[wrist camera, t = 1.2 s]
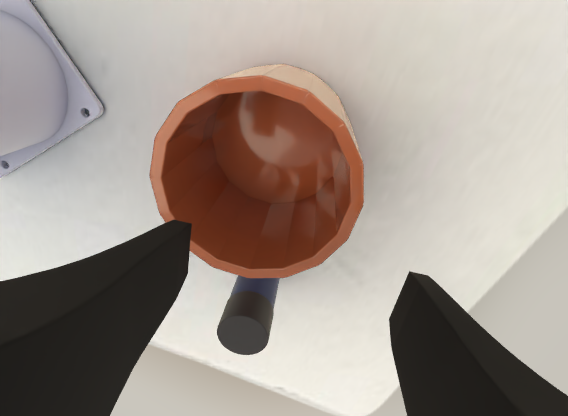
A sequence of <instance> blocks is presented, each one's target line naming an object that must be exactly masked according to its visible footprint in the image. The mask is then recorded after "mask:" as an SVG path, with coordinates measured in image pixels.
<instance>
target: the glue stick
mask: <svg viewBox="0 0 568 416" xmlns="http://www.w3.org/2000/svg"><path fill="white" fill-rule="evenodd" d="M278 283H279V278H246V277H242V276H239V275H238V277H237V280H236V283H235V285H234V288H233V291H232V293H231V296H230V298H229V300H228V301H227V304H226V307H225V309H224V312H223V315H222V317H221V320H220V323H219V325H218V328H217V335H218V338H219V341H220V342H221V344H222V345H223V346H224V347H225V348H227V349H228V350H230V351H232V352H234V353H237V354H242V355H251V354H256V353H258V352H260V351H262V350H263V349H264V348H265V347H266V345H267V343H268V340H269V335H270V330H271V324H272V319H273V309H274V304H275V299H276V294H277V288H278Z"/></svg>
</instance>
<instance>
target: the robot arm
mask: <svg viewBox="0 0 568 416" xmlns="http://www.w3.org/2000/svg"><path fill="white" fill-rule="evenodd" d="M85 109H87V110H88V111H89V113H90V115H89V116H88V115H87V114H86V113H85ZM102 114H103V106H102V104H101V102H100V101H99V99H98V98H97V97H96V95H95V94H94V92H93V91H92V89H91V88H90V87H89V85H88V84H87V82H86V81H85V79H84V78H83V76H82V75H81V74H80V72H79V71H78V69H77V68H76V66H75V65H74V64H73V62H72V61H71V59H70V58H69V56H68V55H67V53H66V52H65V51H64V49H63V48H62V46H61V45H60V43H59V42H58V41H57V39H56V38H55V36H54V35H53V33H52V32H51V30H50V29H49V28H48V26H47V25H46V23H45V22H44V20H43V19H42V17H41V16H40V15H39V13H38V12H37V10H36V9H35V7H34V6H33V5H32V3H31V2H30V0H0V178H2V177H4V176H6V175H7V174H9V173H11V172H12V171H14V170H15V169H17V168H18V167H20V166H22V165H23V164H25V163H26V162H28V161H30V160H31V159H33V158H34V157H36V156H38V155H39V154H41V153H42V152H44V151H45V150H47V149H49V148H50V147H52V146H53V145H55V144H57V143H58V142H60V141H61V140H63V139H64V138H66V137H68V136H69V135H71V134H72V133H74V132H76V131H77V130H79V129H80V128H82V127H83V126H85V125H87V124H88V123H90V122H91V121H93V120H95V119H96V118H98V117H99V116H101V115H102ZM6 162H7V163H8V164H9V166H8V165H7V163H6ZM191 228H192V223H187V222H183V221H178V220H171V221H169V222H167V223H164V224H162V225H160V226H158V227H156V228H154V229H152V230H150V231H148V232H146V233H144V234H142V235H140V236H137V237H135V238H133V239H131V240H129V241H127V242H125V243H122V244H120V245H117V246H115V247H113V248H110V249H108V250H105V251H103V252H101V253H98V254H96V255H93V256H90V257H88V258H85V259H82V260H79V261H76V262H73V263H70V264H67V265H64V266H61V267H57V268H54V269H50V270H46V271H42V272H38V273H34V274H30V275H26V276H22V277H18V278H14V279H10V280H5V281H0V416H110V414H111V412H112V410H113V408H114V406H115V404H116V402H117V400H118V398H119V395H120V394H121V392H122V390H123V388H124V386H125V384H126V382H127V379H128V378H129V376H130V373H131V372H132V369H133V368H134V366H135V364H136V363H137V361H138V359H139V357H140V356H141V354H142V353H143V351H144V350H145V348H146V346H147V345H148V343H149V342H150V340H151V338H152V337H153V335H154V334H155V332H156V331H157V329H158V327H159V326H160V324H161V323H162V321H163V320H164V318H165V316H166V315H167V313H168V312H169V310H170V308H171V307H172V305H173V303H174V302H175V300H176V298H177V296H178V294H179V292H180V290H181V288H182V285H183V283H184V281H185V279H186V276H187V274H188V262H189V251H190V239H191ZM389 323H390V337H391V346H392V352H393V356H394V361H395V365H396V370H397V374H398V378H399V382H400V387H401V391H402V395H403V399H404V404H405V408H406V412H407V416H568V396H567V395H566V394H564V393H563V392H561V391H560V390H558V389H557V388H556V387H554V386H553V385H551V384H550V383H549V382H547V381H546V380H545V379H543V378H542V377H541V376H539V375H538V374H537V373H536V372H534V371H533V370H532V369H530V368H529V367H528V366H527V365H525V364H524V363H523V362H521V361H520V360H519V359H518V358H516V357H515V356H514V355H513V354H512V353H510V352H509V351H508V350H507V349H506V348H505V347H503V346H502V345H501V344H500V343H499V342H498V341H497V340H496V339H494V338H493V337H492V336H491V335H490V334H489V333H488V332H487V331H486V330H485V329H483V328H482V327H481V326H480V325H479V324H478V323H477V322H476V321H475V320H474V319H473V318H472V317H471V316H470V315H469V314H468V313H467V312H466V311H465V310H464V309H463V308H462V307H461V306H460V305H459V304H458V303H457V302H456V301H455V300H454V299H453V298H452V297H451V296H450V295H449V294H447V293H446V292H445V291H444V290H443V289H442V288H441V287H440V286H439V285H438V284H437V283H436V282H435V281H434V280H433V279H432V278H430V277H429V276H428V275H423V274H418V273H414V272H409V274H408V276H407V278H406V281H405V283H404V285H403V288H402V290H401V292H400V295H399V297H398V299H397V302H396V304H395V307H394V309H393V311H392V314H391V316H390V318H389Z"/></svg>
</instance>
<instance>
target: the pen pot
mask: <svg viewBox="0 0 568 416" xmlns="http://www.w3.org/2000/svg"><path fill="white" fill-rule="evenodd" d="M150 180H151V184H152V188H153V191H154V195H155V199H156V202H157V206H158V210H159V213H160V215H161V216H162V218H163V219H164V221H165V222H166V223H167V222H169V221H171V220H178V221H183V222H187V223H192V228H191V239H190V251H191V252H192V253H194V254H195V255H196V256H198V257H199V258H201V259H202V260H203V261H205V262H206V263H208V264H209V265H210V266H212V267H214V268H217V269H220V270H223V271H227V272H230V273H233V274H236V275H239V276H242V277H246V278H285V277H289V276H292V275H294V274H297V273H299V272H302V271H305V270H307V269H310V268H313V267H315V266H318V265H320V264H321V263H323V262H324V261H325V260H326V259H327V258H328V257H329V256H330V255H331V254H332V253H334V252H335V251H336V250H337V249H338V248H339V247H340V246H341V245H342V244H343V243H345V242H346V241H347V239H348V238H349V236H350V234H351V231H352V229H353V227H354V225H355V222H356V220H357V218H358V216H359V214H360V211H361V209H362V207H363V203H364V165H363V160H362V157H361V154H360V151H359V148H358V145H357V142H356V138H355V135H354V132H353V129H352V126H351V123H350V121H349V118H348V116H347V114H346V112H345V109H344V107H343V105H342V103H341V101H340V98H339V97H338V95H337V94H336V93H335V92H334V91H333V90H332V89H331V88H330V87H329V86H328V85H327V84H326V83H325V82H324V81H322V80H321V79H320V78H319V77H317V76H316V75H314V74H313V73H310V72H308V71H306V70H303V69H301V68H297V67H293V66H289V65H286V64H277V65H266V66H257V67H252V68H249V69H246V70H243V71H240V72H237V73H234V74H231V75H228V76H225V77H222V78H219V79H216V80H214V81H212V82H210V83H209V84H207V85H205V86H204V87H202V88H200V89H199V90H197V91H195V92H193V93H192V94H190V95H188V96H187V97H185V98H183V99H182V100H180V101H179V102H178V103H177V104H176V105H175V107H174V108H173V110H172V111H171V113H170V114H169V116H168V117H167V119H166V121H165V122H164V124H163V125H162V127H161V128H160V130H159V131H158V133H157V134H156V137H155V140H154V147H153V154H152V161H151V169H150Z"/></svg>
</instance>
